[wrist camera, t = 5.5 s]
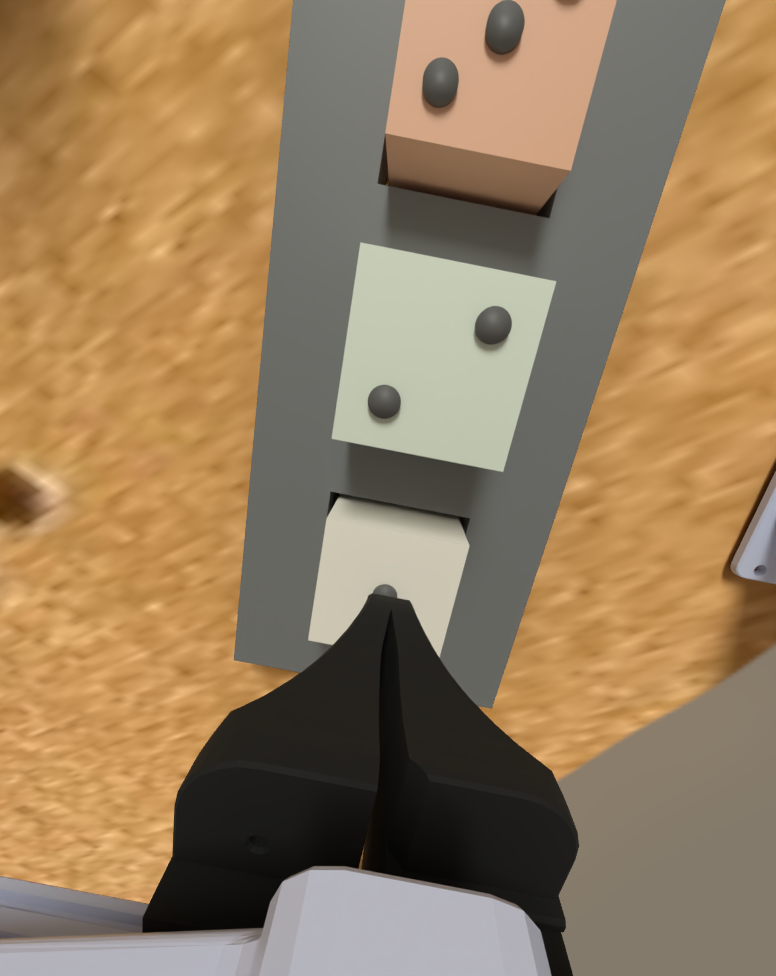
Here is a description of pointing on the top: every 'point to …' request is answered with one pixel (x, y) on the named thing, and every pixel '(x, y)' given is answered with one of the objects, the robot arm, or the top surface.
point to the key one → (387, 565)
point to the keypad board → (458, 237)
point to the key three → (492, 97)
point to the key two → (438, 356)
